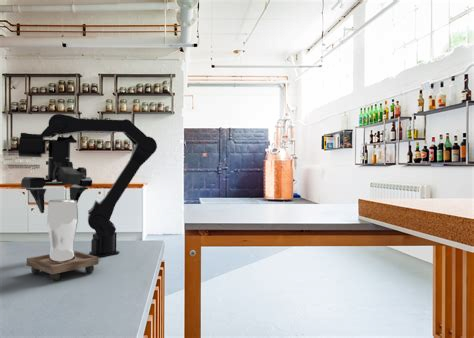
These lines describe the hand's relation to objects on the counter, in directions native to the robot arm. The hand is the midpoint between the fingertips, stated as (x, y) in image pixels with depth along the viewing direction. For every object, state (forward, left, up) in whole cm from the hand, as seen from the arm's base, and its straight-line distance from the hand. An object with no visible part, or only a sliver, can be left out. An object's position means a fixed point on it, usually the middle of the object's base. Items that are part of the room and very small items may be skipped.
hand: (57, 211), depth 115 cm
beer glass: (+8, +17, -10) cm, 21 cm away
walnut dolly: (+8, +17, -13) cm, 23 cm away
